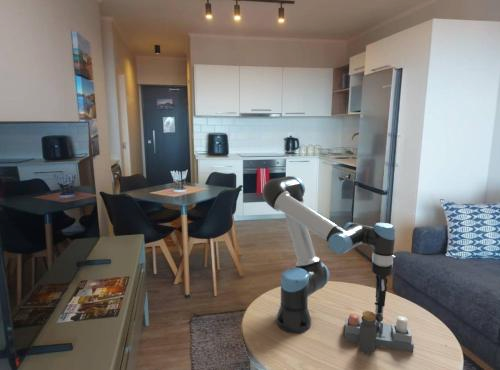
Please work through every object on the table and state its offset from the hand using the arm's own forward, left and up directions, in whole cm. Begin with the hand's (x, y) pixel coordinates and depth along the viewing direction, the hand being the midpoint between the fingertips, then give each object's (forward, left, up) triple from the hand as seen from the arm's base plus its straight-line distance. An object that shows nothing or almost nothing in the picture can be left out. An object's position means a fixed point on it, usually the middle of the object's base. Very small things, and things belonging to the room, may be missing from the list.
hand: (378, 318), depth 133 cm
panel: (0, +2, -10) cm, 10 cm away
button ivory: (+9, 0, -4) cm, 9 cm away
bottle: (-5, -7, -10) cm, 13 cm away
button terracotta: (-9, 0, -6) cm, 11 cm away
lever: (0, +2, -6) cm, 6 cm away
